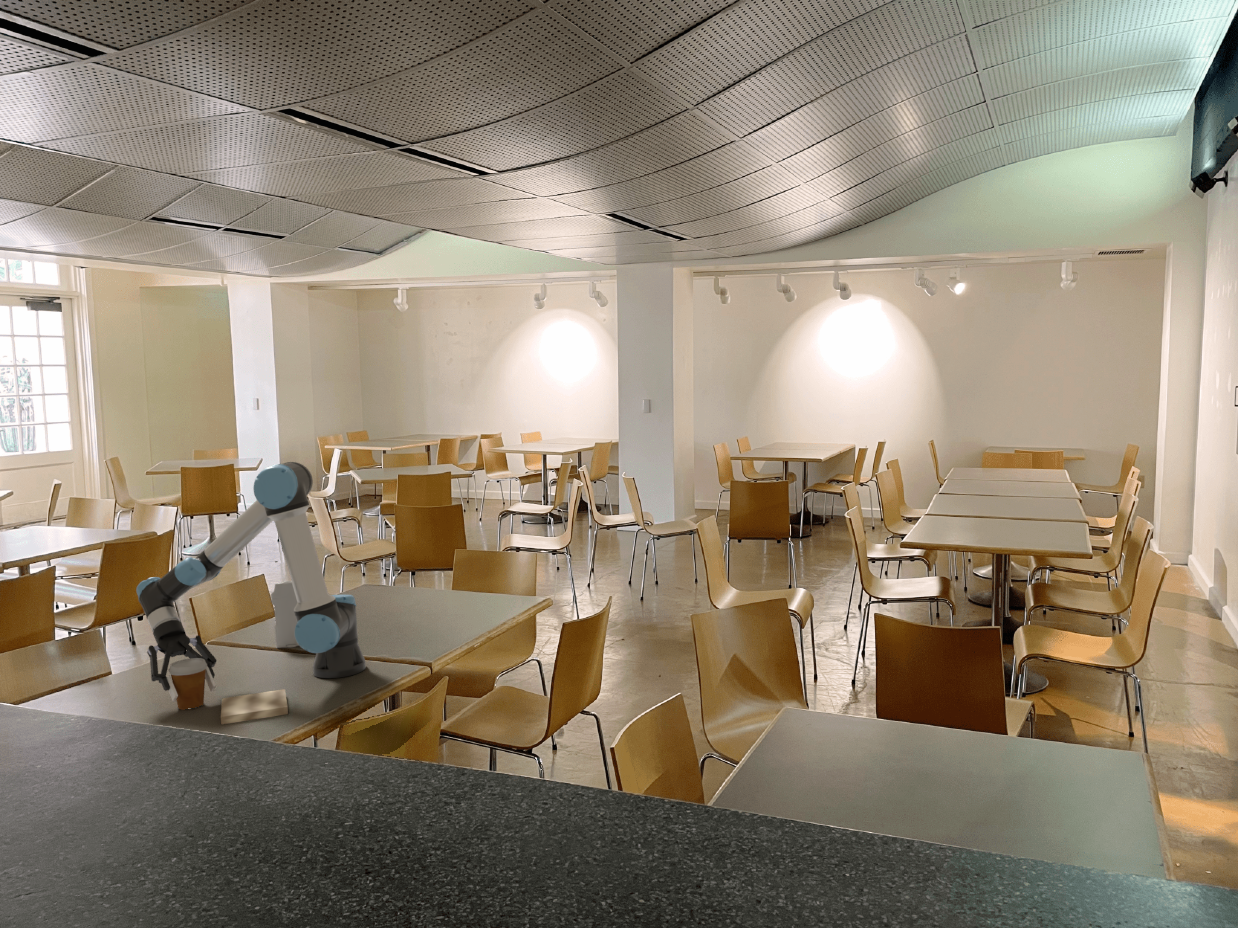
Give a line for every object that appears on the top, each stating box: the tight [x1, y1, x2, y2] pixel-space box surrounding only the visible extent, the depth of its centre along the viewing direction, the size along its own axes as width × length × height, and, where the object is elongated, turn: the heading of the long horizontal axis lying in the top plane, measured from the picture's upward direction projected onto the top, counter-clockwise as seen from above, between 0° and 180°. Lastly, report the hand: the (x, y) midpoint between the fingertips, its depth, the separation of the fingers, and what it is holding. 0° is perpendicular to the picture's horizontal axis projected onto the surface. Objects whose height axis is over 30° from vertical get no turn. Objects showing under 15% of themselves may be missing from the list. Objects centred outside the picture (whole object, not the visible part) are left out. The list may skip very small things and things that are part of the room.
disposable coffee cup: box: [167, 658, 207, 711], centre depth 248 cm, size 10×10×12 cm
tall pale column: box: [270, 580, 300, 649], centre depth 305 cm, size 11×4×22 cm, turn 108°
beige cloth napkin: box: [220, 688, 289, 726], centre depth 243 cm, size 16×16×2 cm
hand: (194, 693), depth 246 cm, fingers open, 9 cm apart
